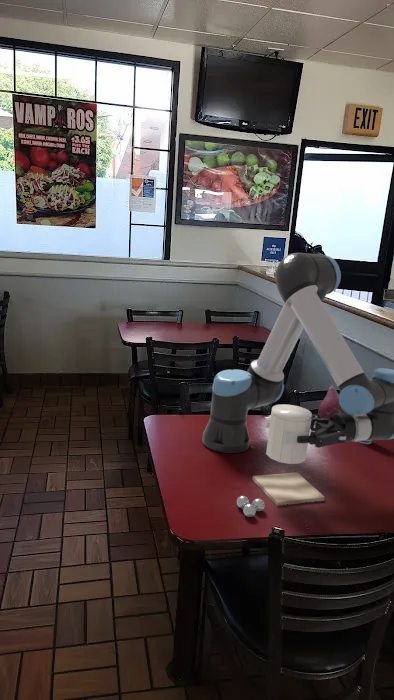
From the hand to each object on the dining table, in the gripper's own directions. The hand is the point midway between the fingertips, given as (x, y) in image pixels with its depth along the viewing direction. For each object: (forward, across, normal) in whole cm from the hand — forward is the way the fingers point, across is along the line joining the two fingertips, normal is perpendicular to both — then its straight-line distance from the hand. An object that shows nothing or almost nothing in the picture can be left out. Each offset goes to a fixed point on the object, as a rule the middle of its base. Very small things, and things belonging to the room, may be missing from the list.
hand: (274, 430), depth 126 cm
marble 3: (+5, -6, -18) cm, 20 cm away
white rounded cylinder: (-4, 0, -7) cm, 8 cm away
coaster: (-7, +2, -18) cm, 19 cm away
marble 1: (+9, -5, -18) cm, 21 cm away
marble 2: (+9, -8, -18) cm, 22 cm away
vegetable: (-51, +49, -18) cm, 73 cm away
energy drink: (-52, +29, -18) cm, 62 cm away
